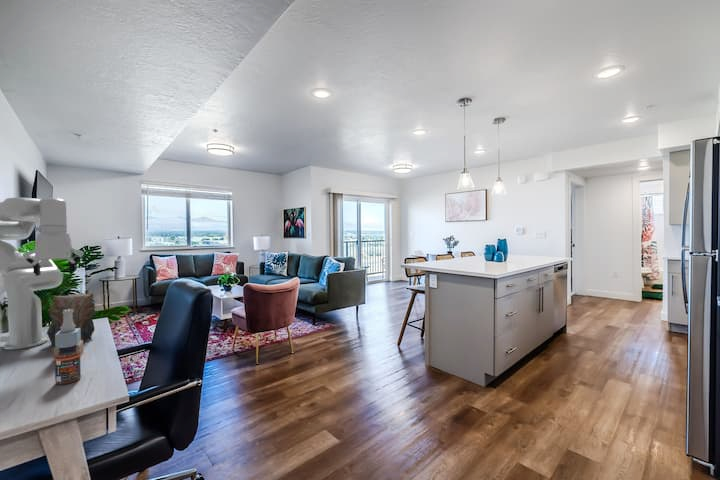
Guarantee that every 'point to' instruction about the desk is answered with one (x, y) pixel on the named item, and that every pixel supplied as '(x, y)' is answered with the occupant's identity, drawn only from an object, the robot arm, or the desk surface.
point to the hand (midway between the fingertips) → (55, 274)
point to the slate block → (68, 337)
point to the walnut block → (79, 347)
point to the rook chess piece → (67, 321)
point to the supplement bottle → (67, 364)
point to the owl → (81, 314)
